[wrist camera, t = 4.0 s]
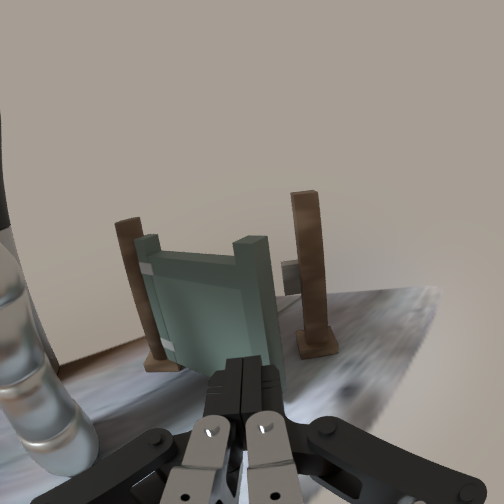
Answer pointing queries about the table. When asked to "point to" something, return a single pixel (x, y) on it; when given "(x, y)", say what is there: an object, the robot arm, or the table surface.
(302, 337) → the post
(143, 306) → the hinge post
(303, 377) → the table surface
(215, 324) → the gate
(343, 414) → the table surface
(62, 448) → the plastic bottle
